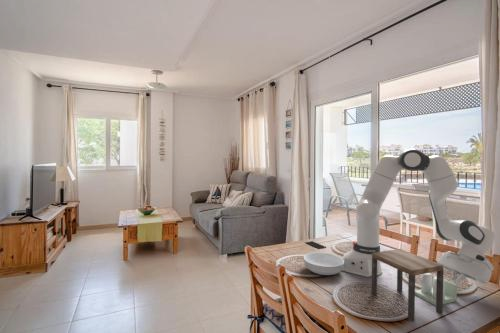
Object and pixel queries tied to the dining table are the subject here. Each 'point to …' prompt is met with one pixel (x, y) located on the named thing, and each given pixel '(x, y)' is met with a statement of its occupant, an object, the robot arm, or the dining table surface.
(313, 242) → the smartphone
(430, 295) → the glasses tray
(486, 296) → the dining table surface
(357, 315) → the dining table surface
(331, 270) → the serving bowl
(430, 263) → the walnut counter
